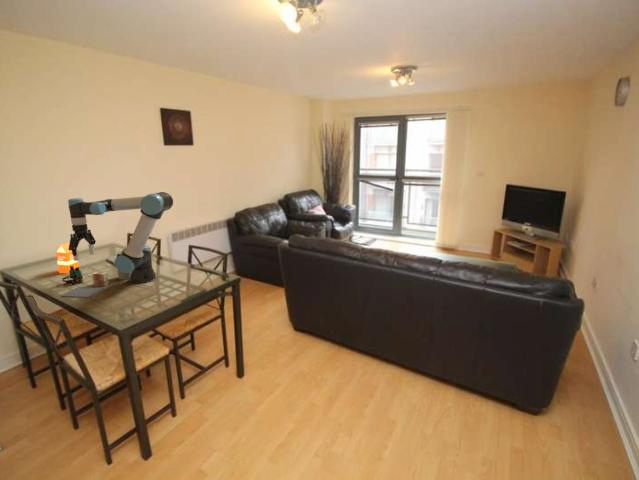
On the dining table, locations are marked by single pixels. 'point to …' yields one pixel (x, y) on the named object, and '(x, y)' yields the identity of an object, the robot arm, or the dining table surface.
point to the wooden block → (100, 278)
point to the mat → (82, 292)
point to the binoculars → (74, 276)
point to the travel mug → (120, 274)
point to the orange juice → (65, 259)
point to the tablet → (112, 258)
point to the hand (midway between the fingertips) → (84, 257)
